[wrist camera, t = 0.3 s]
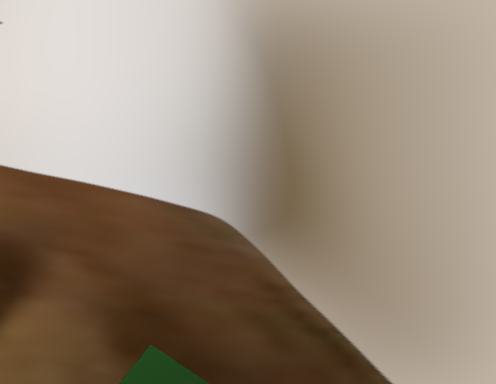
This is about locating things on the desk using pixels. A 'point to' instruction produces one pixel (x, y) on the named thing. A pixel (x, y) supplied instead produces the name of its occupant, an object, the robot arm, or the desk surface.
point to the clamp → (159, 370)
